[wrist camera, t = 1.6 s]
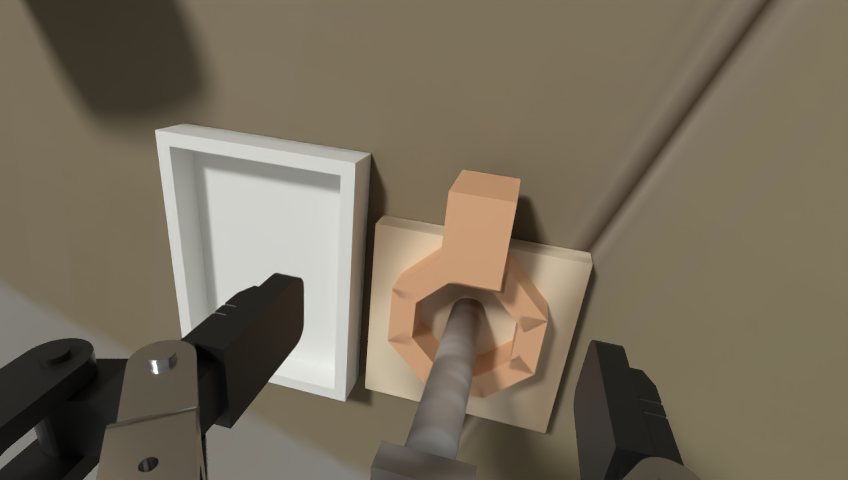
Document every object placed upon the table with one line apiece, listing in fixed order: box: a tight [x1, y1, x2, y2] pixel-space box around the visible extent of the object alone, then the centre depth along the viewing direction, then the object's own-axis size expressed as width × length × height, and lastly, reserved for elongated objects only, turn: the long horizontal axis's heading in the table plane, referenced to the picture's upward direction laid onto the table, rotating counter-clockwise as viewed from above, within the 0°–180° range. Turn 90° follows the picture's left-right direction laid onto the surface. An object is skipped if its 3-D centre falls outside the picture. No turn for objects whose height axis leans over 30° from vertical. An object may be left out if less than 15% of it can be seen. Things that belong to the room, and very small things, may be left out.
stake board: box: [365, 215, 593, 480], centre depth 23 cm, size 12×12×14 cm
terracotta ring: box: [388, 170, 548, 398], centre depth 25 cm, size 8×13×4 cm
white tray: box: [155, 123, 371, 401], centre depth 30 cm, size 12×16×2 cm
